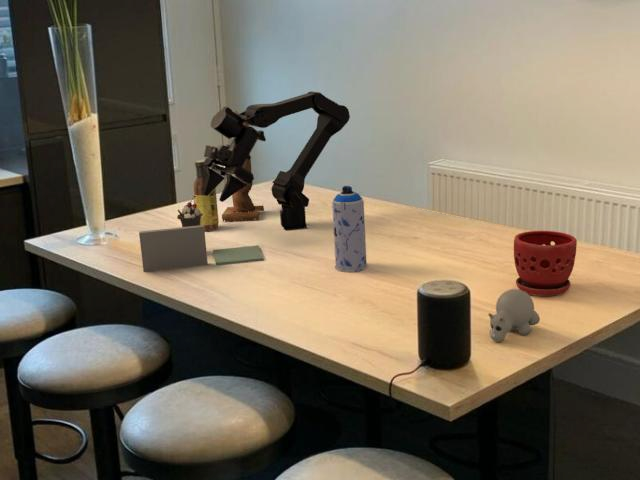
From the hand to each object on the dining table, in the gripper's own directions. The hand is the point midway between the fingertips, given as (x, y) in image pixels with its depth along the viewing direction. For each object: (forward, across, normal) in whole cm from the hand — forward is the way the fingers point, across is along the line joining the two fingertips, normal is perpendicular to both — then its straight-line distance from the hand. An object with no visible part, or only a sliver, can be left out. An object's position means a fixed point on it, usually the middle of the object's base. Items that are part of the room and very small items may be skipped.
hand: (212, 198), depth 252 cm
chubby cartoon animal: (+2, +98, +19) cm, 99 cm away
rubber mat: (+11, +14, +7) cm, 19 cm away
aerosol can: (+1, +42, +20) cm, 46 cm away
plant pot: (-13, +84, +37) cm, 93 cm away
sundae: (+15, +2, +2) cm, 15 cm away
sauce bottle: (+7, -16, +12) cm, 22 cm away
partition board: (+21, +11, -6) cm, 24 cm away
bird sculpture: (-2, -21, +24) cm, 32 cm away
